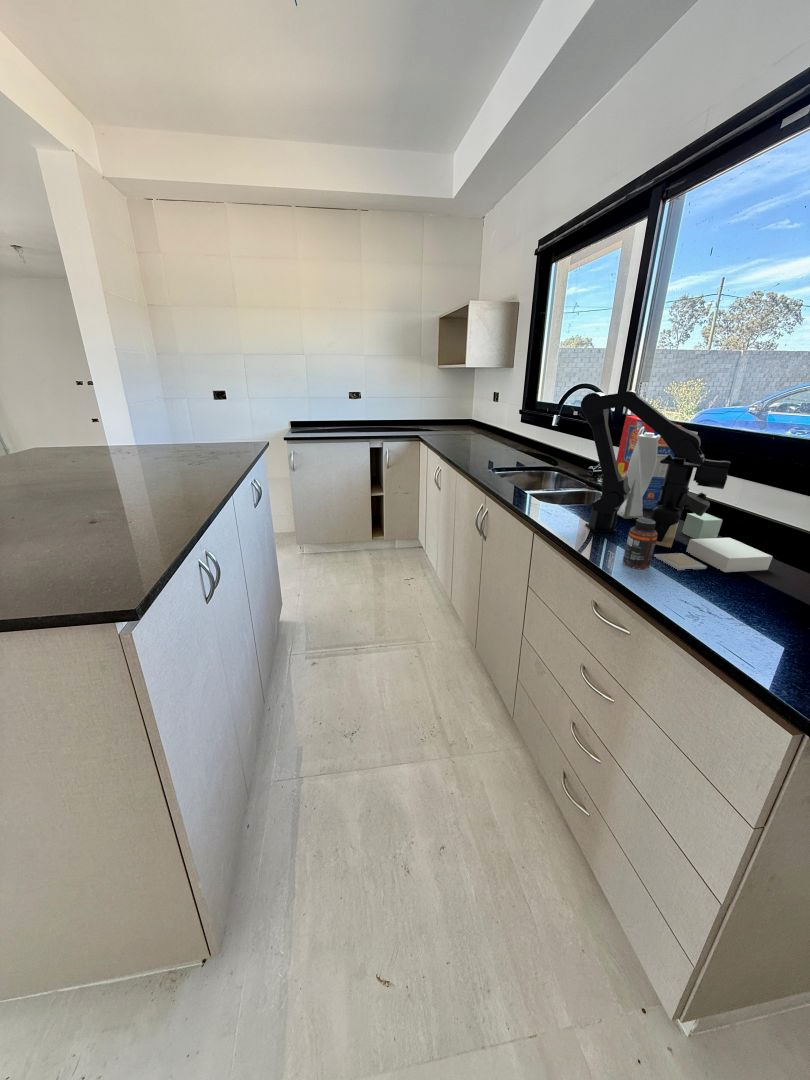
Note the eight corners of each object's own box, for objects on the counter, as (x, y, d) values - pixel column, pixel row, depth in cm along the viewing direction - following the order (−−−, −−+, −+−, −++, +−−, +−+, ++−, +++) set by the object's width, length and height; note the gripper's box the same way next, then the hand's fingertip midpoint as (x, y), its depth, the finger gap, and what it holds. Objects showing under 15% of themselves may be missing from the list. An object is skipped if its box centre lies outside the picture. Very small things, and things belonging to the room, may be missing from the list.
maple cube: (670, 548, 115) (677, 527, 112) (646, 542, 118) (651, 522, 115) (673, 541, 119) (679, 521, 117) (649, 536, 122) (654, 516, 120)
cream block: (724, 573, 101) (729, 558, 100) (685, 553, 112) (689, 539, 111) (766, 571, 103) (772, 556, 102) (724, 551, 114) (729, 537, 113)
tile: (676, 570, 101) (677, 567, 101) (653, 556, 109) (654, 553, 108) (706, 568, 103) (707, 565, 102) (681, 555, 110) (682, 552, 110)
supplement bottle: (647, 561, 106) (658, 518, 101) (651, 571, 100) (663, 526, 96) (620, 557, 107) (631, 515, 103) (623, 567, 102) (634, 522, 98)
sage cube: (697, 540, 120) (703, 520, 118) (681, 532, 126) (687, 513, 124) (716, 539, 121) (722, 519, 119) (699, 532, 127) (705, 513, 125)
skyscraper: (610, 511, 144) (629, 425, 133) (632, 511, 145) (653, 426, 134) (624, 519, 136) (646, 429, 126) (648, 519, 137) (671, 430, 127)
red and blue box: (610, 487, 173) (626, 415, 162) (631, 488, 172) (648, 416, 161) (635, 508, 147) (655, 424, 136) (660, 510, 146) (682, 426, 135)
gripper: (711, 495, 101) (692, 556, 107) (714, 480, 115) (697, 534, 121) (658, 487, 107) (643, 544, 112) (666, 474, 121) (653, 526, 127)
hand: (660, 537), depth 118 cm, fingers open, 7 cm apart
